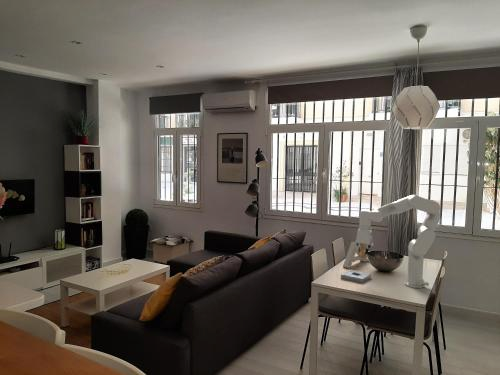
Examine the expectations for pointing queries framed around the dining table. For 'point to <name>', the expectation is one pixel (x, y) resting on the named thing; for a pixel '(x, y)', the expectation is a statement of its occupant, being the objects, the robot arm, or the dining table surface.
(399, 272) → the dining table surface
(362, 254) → the locking peg
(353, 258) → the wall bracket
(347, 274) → the rosette plate
